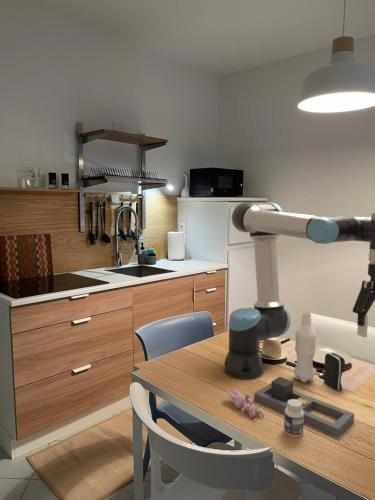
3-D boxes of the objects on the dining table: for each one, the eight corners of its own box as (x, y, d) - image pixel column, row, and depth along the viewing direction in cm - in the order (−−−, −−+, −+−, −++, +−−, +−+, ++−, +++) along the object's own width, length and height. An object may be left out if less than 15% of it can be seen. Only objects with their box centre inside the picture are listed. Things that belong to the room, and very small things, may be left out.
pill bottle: (281, 427, 110) (282, 398, 109) (298, 426, 111) (300, 397, 110) (287, 438, 105) (288, 407, 104) (306, 437, 106) (307, 407, 105)
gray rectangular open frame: (253, 400, 125) (254, 379, 124) (272, 388, 133) (273, 369, 132) (337, 437, 106) (338, 413, 105) (353, 421, 113) (355, 399, 112)
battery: (345, 389, 133) (347, 357, 131) (336, 391, 131) (338, 359, 130) (331, 380, 139) (333, 350, 138) (323, 382, 138) (324, 352, 136)
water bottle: (314, 376, 142) (317, 311, 139) (314, 385, 136) (317, 316, 133) (294, 373, 145) (296, 309, 142) (293, 382, 138) (295, 314, 135)
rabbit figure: (266, 420, 116) (235, 392, 128) (269, 403, 115) (237, 377, 127) (251, 427, 113) (220, 397, 125) (254, 409, 111) (222, 382, 123)
